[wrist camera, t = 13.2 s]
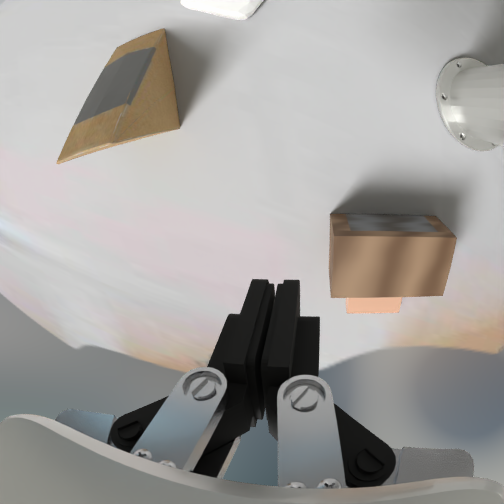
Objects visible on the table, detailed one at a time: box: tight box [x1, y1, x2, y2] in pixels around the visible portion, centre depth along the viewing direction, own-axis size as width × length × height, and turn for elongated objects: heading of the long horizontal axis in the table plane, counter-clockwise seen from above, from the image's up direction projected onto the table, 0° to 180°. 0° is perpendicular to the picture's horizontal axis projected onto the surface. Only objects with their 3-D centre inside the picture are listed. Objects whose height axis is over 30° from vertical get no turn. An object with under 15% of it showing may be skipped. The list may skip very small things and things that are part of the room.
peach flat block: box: [346, 297, 402, 313], centre depth 37 cm, size 8×12×3 cm, turn 5°
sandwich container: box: [57, 29, 180, 164], centre depth 26 cm, size 9×15×15 cm, turn 8°
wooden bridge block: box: [329, 214, 457, 298], centre depth 33 cm, size 15×8×7 cm, turn 95°
